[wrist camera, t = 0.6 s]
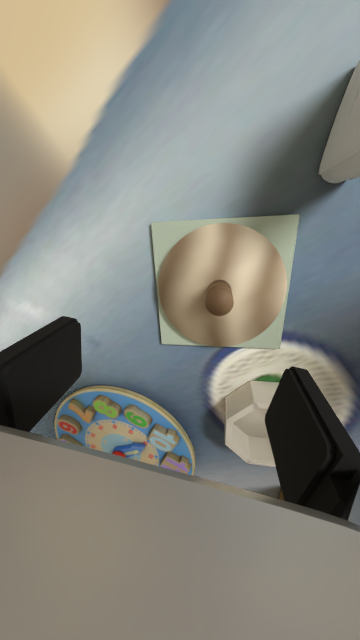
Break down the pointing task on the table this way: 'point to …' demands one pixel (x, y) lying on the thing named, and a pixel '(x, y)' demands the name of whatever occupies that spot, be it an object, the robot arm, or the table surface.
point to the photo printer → (344, 137)
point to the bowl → (250, 422)
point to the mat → (272, 227)
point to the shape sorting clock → (124, 427)
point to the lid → (222, 284)
